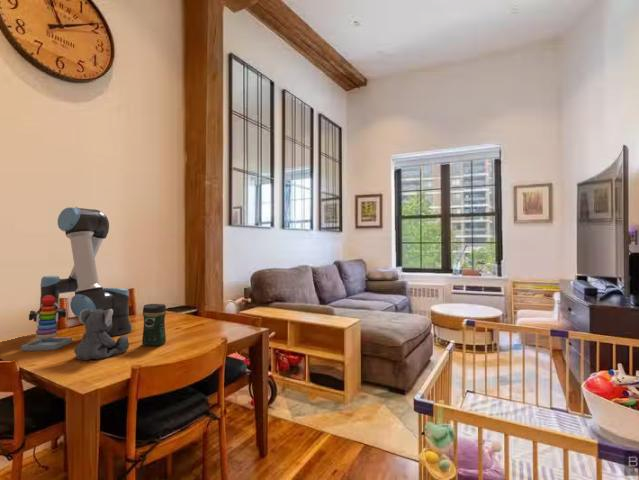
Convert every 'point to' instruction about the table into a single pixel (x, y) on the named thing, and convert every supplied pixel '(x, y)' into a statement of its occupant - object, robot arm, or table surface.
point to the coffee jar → (154, 324)
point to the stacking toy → (47, 319)
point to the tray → (46, 344)
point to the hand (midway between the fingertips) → (47, 319)
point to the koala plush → (98, 336)
